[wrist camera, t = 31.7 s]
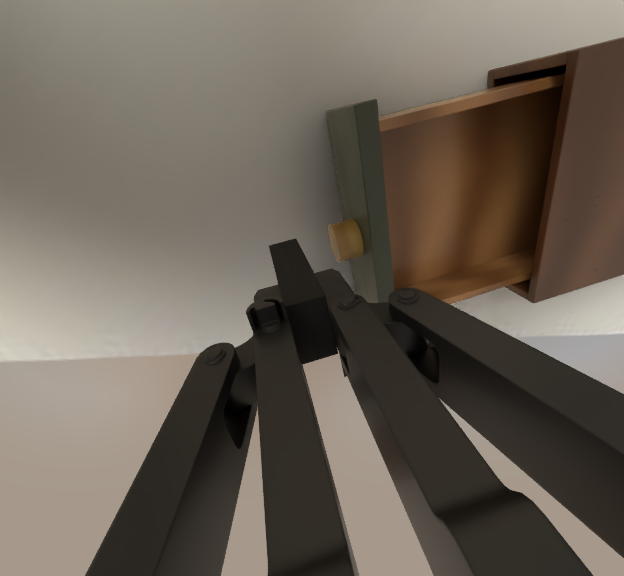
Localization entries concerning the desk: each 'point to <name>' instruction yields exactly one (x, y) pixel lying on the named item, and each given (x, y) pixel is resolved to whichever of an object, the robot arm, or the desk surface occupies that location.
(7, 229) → the desk surface
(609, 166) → the box
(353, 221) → the drawer
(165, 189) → the desk surface
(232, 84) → the desk surface
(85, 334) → the desk surface
